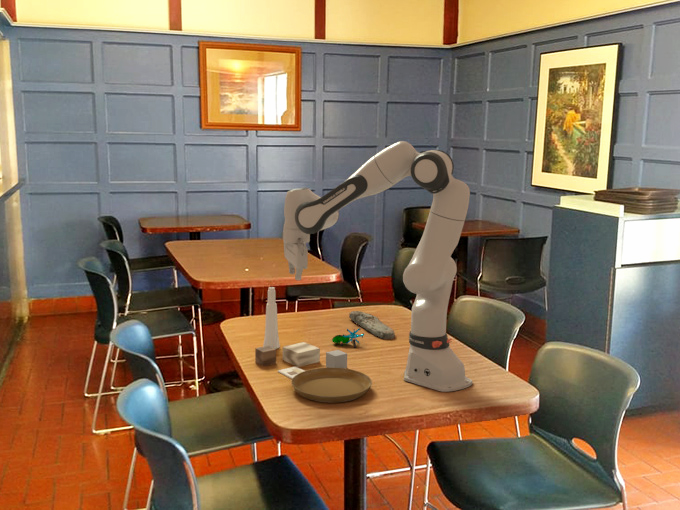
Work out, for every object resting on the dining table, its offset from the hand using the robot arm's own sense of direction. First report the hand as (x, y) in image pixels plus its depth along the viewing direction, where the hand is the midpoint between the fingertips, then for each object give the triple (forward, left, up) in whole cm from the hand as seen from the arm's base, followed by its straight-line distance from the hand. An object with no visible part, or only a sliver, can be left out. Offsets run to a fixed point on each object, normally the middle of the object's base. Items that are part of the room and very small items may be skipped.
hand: (294, 276), depth 228 cm
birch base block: (-3, -1, -29) cm, 29 cm away
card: (-13, +8, -29) cm, 33 cm away
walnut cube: (+2, +10, -29) cm, 31 cm away
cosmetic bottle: (+16, -1, -29) cm, 33 cm away
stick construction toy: (+2, -25, -29) cm, 38 cm away
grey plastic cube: (-15, -7, -29) cm, 33 cm away
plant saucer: (-31, +7, -29) cm, 43 cm away
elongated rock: (+16, -48, -29) cm, 58 cm away
